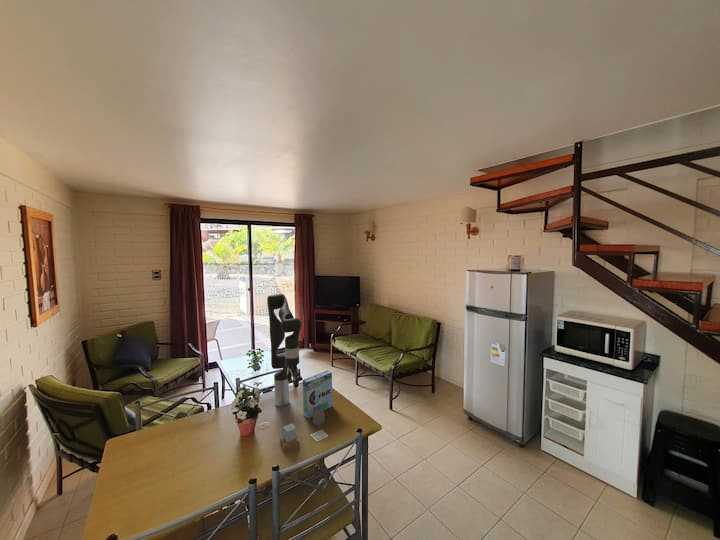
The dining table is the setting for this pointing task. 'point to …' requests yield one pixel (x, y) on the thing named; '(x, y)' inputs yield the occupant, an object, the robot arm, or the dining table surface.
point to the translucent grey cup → (318, 417)
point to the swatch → (319, 435)
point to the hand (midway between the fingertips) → (293, 383)
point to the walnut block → (289, 444)
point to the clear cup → (289, 433)
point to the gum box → (317, 393)
